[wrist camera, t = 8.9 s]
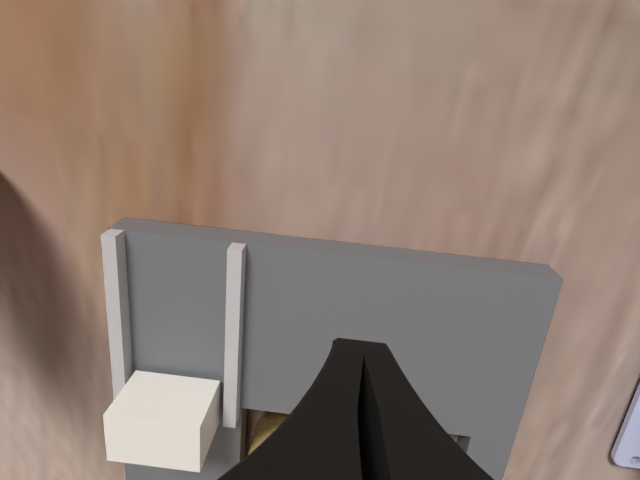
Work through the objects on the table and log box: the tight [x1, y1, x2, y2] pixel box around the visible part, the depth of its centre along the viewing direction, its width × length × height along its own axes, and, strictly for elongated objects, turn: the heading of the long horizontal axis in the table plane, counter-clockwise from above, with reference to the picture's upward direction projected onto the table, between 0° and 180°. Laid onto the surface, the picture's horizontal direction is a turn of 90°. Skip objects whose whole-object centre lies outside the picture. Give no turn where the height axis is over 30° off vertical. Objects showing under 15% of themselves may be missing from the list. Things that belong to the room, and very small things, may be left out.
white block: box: [103, 370, 220, 473], centre depth 20 cm, size 4×2×3 cm, turn 85°
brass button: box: [248, 411, 289, 455], centre depth 23 cm, size 4×4×2 cm
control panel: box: [101, 218, 563, 480], centre depth 22 cm, size 19×16×2 cm
